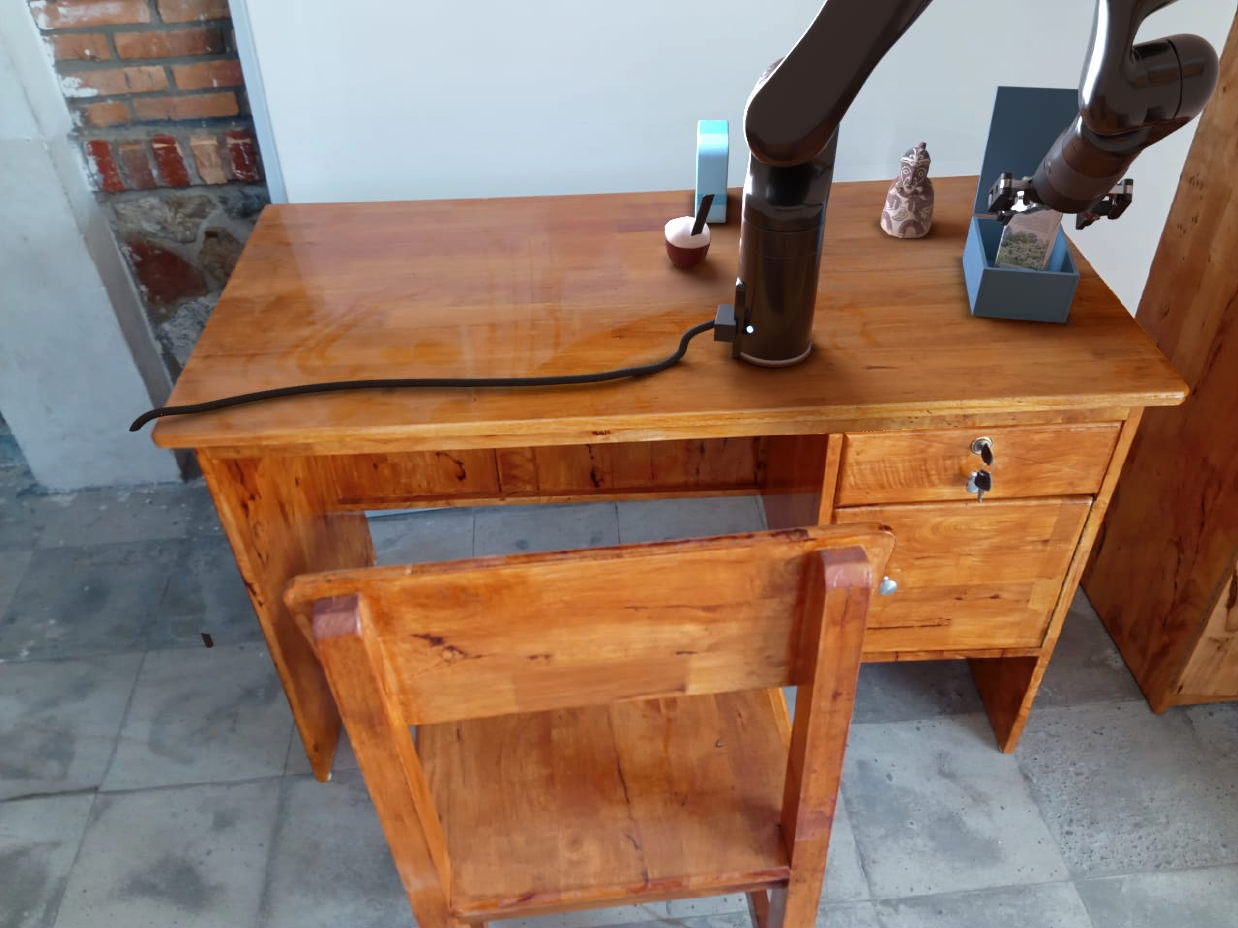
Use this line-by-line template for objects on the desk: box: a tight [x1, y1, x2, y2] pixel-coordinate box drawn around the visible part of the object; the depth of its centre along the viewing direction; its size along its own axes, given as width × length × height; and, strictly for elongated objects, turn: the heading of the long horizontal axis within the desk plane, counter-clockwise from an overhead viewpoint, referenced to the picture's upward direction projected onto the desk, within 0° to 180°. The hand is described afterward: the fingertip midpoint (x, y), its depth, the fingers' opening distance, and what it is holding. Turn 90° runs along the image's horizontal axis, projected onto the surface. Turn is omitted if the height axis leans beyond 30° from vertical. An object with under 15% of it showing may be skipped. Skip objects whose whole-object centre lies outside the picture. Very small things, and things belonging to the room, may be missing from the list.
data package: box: [694, 120, 730, 224], centre depth 143 cm, size 12×4×12 cm, turn 175°
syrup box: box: [994, 176, 1065, 271], centre depth 119 cm, size 6×6×14 cm
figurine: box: [880, 141, 935, 239], centre depth 137 cm, size 7×7×12 cm
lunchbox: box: [962, 215, 1081, 324], centre depth 124 cm, size 15×11×7 cm
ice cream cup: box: [664, 194, 715, 268], centre depth 130 cm, size 10×6×12 cm, turn 2°
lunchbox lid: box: [972, 85, 1079, 216], centre depth 123 cm, size 16×11×1 cm
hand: (1040, 220), depth 114 cm, fingers open, 8 cm apart
